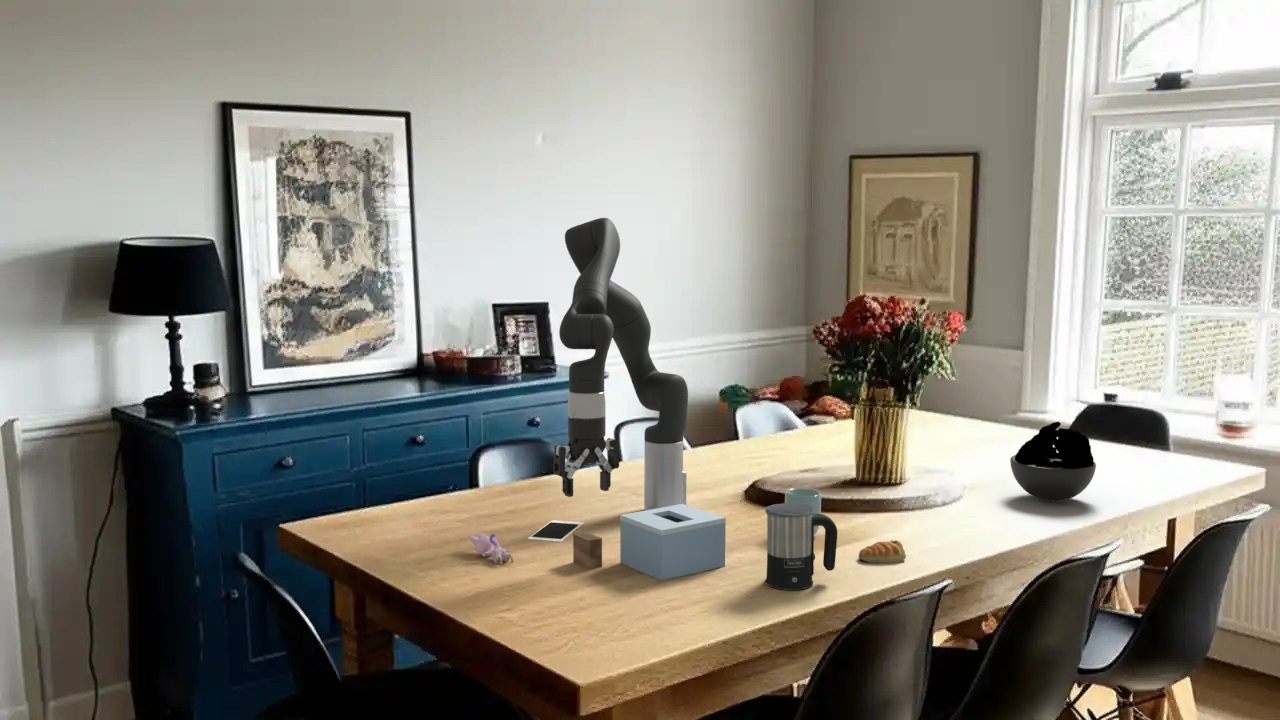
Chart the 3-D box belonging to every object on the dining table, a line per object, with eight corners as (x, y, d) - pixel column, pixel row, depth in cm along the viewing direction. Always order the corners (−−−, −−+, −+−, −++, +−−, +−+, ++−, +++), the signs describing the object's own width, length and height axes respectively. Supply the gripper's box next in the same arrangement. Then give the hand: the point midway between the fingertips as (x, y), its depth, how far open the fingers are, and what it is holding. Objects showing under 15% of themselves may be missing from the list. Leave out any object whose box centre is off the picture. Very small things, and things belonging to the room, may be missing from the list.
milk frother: (779, 593, 220) (780, 516, 218) (739, 570, 234) (740, 497, 232) (843, 584, 225) (845, 509, 223) (801, 562, 240) (802, 491, 238)
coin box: (682, 549, 248) (682, 503, 246) (725, 566, 236) (725, 517, 235) (620, 562, 238) (620, 515, 237) (661, 580, 227) (661, 530, 226)
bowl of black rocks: (1067, 515, 277) (1071, 436, 275) (992, 499, 292) (996, 425, 289) (1109, 501, 290) (1113, 426, 288) (1035, 487, 305) (1038, 415, 303)
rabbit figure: (519, 569, 239) (484, 541, 250) (522, 542, 237) (486, 515, 249) (493, 574, 235) (458, 545, 247) (495, 547, 234) (459, 519, 245)
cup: (823, 533, 261) (824, 489, 259) (816, 542, 253) (817, 497, 252) (788, 530, 263) (789, 486, 262) (781, 539, 256) (781, 494, 255)
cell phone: (584, 525, 269) (584, 522, 269) (560, 544, 253) (560, 541, 253) (552, 522, 271) (552, 519, 271) (526, 541, 255) (526, 538, 255)
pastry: (869, 567, 237) (869, 548, 236) (851, 558, 243) (852, 540, 243) (908, 562, 240) (909, 544, 240) (890, 553, 246) (890, 535, 246)
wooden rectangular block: (585, 560, 241) (585, 531, 240) (602, 567, 236) (601, 538, 235) (573, 562, 239) (573, 533, 238) (589, 569, 234) (589, 540, 233)
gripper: (605, 407, 241) (605, 485, 243) (546, 414, 232) (546, 494, 234) (626, 413, 235) (626, 492, 237) (566, 419, 226) (566, 501, 228)
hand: (586, 493), depth 235 cm, fingers open, 8 cm apart
